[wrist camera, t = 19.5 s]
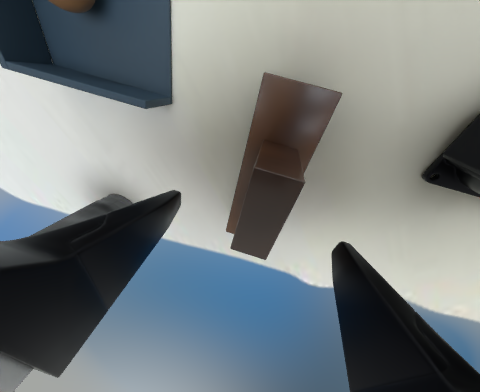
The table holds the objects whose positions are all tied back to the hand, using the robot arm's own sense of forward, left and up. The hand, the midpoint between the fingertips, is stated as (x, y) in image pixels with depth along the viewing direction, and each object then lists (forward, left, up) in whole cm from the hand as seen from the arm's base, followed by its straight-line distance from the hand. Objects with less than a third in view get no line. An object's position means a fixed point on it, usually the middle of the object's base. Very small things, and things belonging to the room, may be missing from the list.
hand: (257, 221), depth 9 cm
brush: (0, 0, -7) cm, 7 cm away
